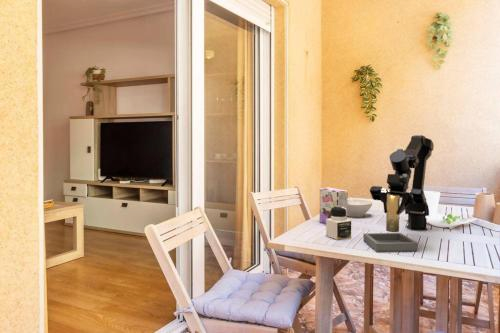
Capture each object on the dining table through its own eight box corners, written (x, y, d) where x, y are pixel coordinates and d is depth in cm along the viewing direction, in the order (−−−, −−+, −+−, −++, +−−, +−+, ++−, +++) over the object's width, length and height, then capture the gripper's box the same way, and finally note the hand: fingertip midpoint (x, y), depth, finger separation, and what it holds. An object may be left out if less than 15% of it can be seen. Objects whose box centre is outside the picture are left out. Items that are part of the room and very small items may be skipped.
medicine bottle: (337, 240, 151) (337, 209, 150) (325, 236, 157) (325, 206, 156) (351, 237, 154) (351, 207, 153) (339, 234, 160) (339, 205, 160)
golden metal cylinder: (384, 231, 140) (385, 195, 139) (388, 228, 144) (388, 193, 143) (396, 232, 138) (397, 196, 137) (400, 230, 141) (401, 194, 140)
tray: (376, 252, 135) (376, 243, 134) (363, 241, 149) (363, 233, 149) (417, 251, 135) (417, 243, 135) (400, 240, 149) (400, 232, 149)
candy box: (319, 222, 183) (319, 187, 182) (329, 221, 185) (329, 186, 184) (336, 228, 170) (337, 191, 169) (347, 227, 173) (348, 190, 171)
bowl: (376, 218, 189) (376, 204, 188) (343, 219, 189) (343, 204, 189) (367, 212, 205) (367, 199, 204) (336, 212, 205) (336, 199, 205)
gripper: (371, 164, 148) (360, 197, 140) (424, 166, 137) (415, 202, 129) (378, 183, 155) (368, 215, 147) (428, 186, 144) (420, 221, 136)
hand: (391, 213), depth 139 cm, fingers closed on golden metal cylinder, 4 cm apart
